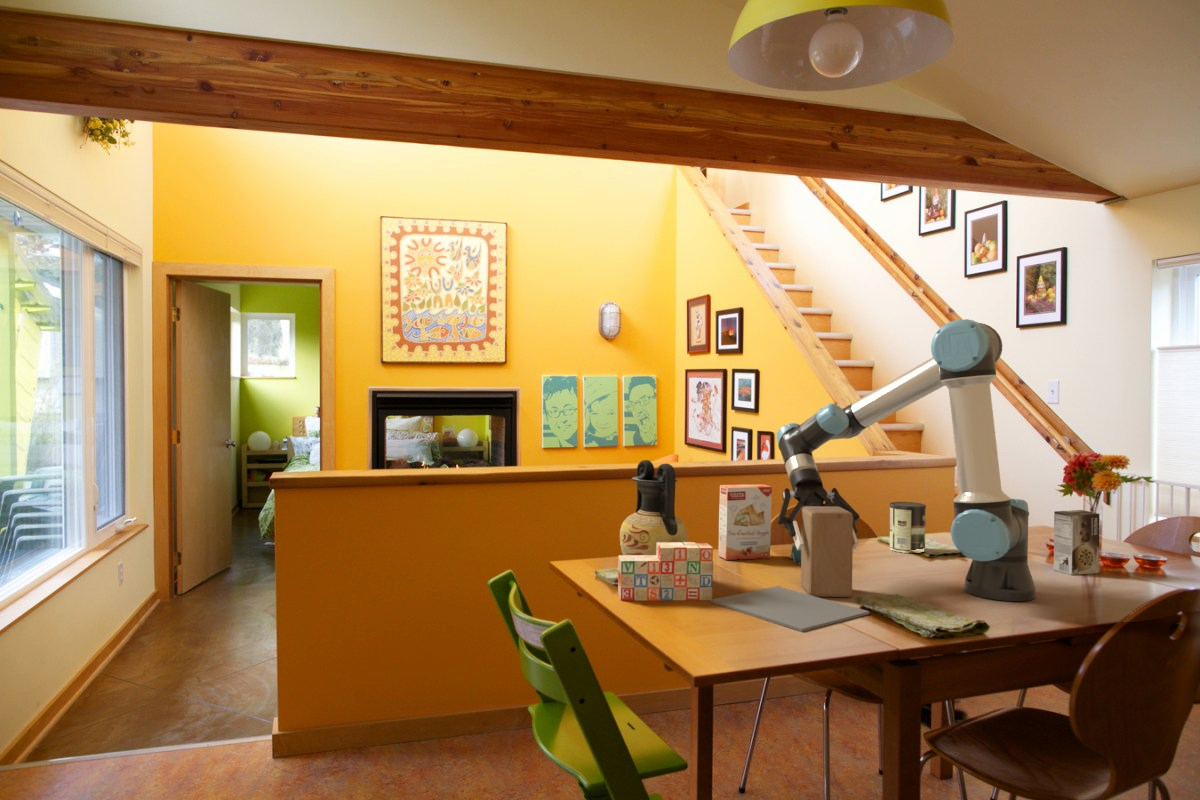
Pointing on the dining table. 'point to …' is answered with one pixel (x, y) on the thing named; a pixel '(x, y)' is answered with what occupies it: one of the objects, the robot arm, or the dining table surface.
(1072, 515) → the grey food carton
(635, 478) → the amphora
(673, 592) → the stack of blocks
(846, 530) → the wooden block
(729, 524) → the cracker box
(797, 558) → the sunglasses
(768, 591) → the mat
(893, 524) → the coffee can
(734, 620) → the dining table surface
